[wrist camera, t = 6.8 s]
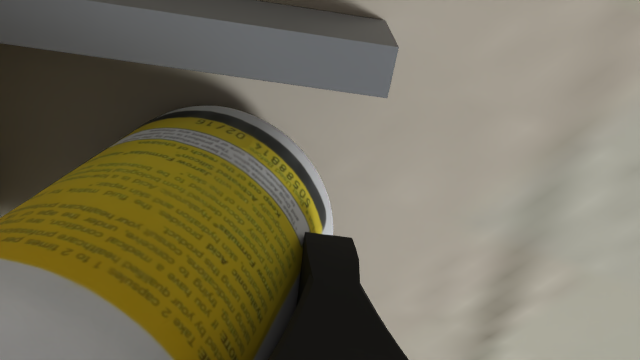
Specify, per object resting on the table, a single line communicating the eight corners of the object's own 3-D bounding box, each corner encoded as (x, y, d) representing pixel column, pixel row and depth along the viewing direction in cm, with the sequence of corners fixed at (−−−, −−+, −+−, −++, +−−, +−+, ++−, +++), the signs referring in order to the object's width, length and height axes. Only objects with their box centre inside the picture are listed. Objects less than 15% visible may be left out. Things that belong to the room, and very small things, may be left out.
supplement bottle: (115, 85, 14) (-533, 407, 5) (344, 115, 12) (14, 600, 4) (137, 278, 16) (-275, 718, 7) (331, 318, 15) (108, 896, 6)
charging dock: (280, 520, 21) (275, 653, 18) (-11, 499, 20) (-77, 636, 17) (395, -29, 12) (433, 19, 9) (-123, -114, 11) (-319, -99, 8)
